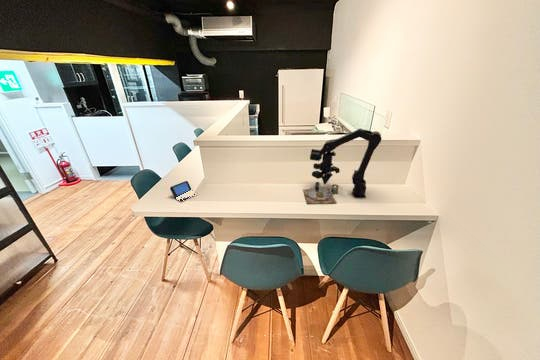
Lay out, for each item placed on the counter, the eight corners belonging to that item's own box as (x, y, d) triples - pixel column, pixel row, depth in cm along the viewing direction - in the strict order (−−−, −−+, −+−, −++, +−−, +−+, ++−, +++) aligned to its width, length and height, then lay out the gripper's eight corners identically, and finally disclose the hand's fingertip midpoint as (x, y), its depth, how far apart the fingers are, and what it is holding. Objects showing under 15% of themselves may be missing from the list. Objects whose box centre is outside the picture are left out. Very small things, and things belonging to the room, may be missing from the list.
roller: (336, 191, 137) (337, 184, 135) (338, 194, 133) (339, 187, 131) (330, 191, 137) (330, 184, 135) (331, 194, 134) (332, 187, 131)
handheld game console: (181, 203, 128) (178, 192, 125) (171, 197, 134) (169, 187, 131) (198, 194, 137) (196, 184, 134) (189, 190, 143) (187, 180, 140)
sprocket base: (328, 190, 139) (329, 188, 138) (336, 203, 123) (336, 202, 123) (302, 190, 139) (303, 189, 138) (307, 204, 123) (307, 202, 123)
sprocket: (328, 189, 137) (329, 181, 135) (335, 200, 124) (336, 192, 121) (303, 189, 137) (304, 181, 135) (307, 201, 124) (308, 193, 121)
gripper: (328, 155, 141) (326, 176, 148) (306, 160, 133) (305, 182, 140) (341, 160, 133) (338, 182, 139) (318, 166, 124) (316, 189, 131)
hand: (324, 184), depth 137 cm, fingers closed
